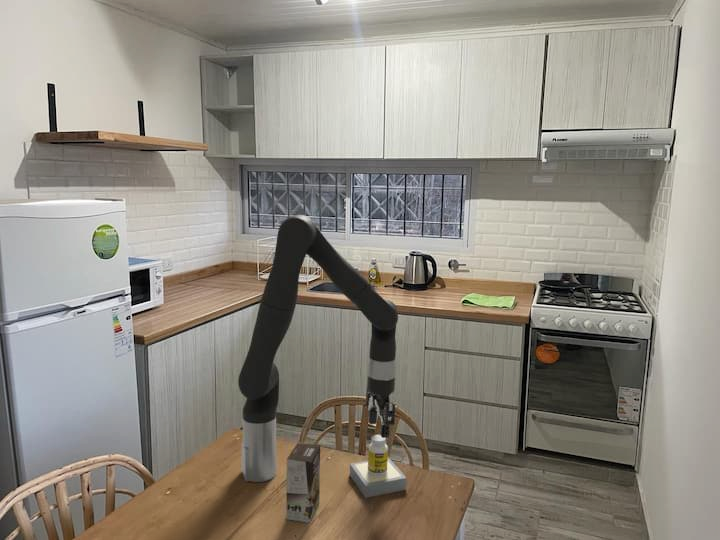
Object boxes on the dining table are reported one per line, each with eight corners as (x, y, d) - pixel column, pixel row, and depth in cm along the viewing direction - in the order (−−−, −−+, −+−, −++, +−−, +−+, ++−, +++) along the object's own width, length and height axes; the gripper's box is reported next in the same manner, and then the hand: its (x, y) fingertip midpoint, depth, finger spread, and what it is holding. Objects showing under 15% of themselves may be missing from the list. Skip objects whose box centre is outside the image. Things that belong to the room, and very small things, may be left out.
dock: (365, 498, 143) (365, 485, 142) (349, 475, 154) (349, 463, 153) (406, 489, 147) (406, 477, 147) (387, 468, 158) (388, 456, 158)
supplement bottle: (373, 477, 146) (374, 443, 145) (364, 468, 151) (365, 435, 150) (390, 473, 149) (391, 439, 147) (381, 463, 154) (381, 431, 152)
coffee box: (310, 523, 132) (311, 462, 129) (285, 519, 133) (285, 458, 130) (320, 502, 141) (321, 444, 138) (297, 498, 142) (297, 441, 139)
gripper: (358, 366, 151) (356, 420, 153) (379, 384, 138) (376, 443, 140) (383, 364, 154) (380, 417, 156) (405, 381, 141) (402, 439, 143)
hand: (378, 430), depth 148 cm, fingers open, 8 cm apart
